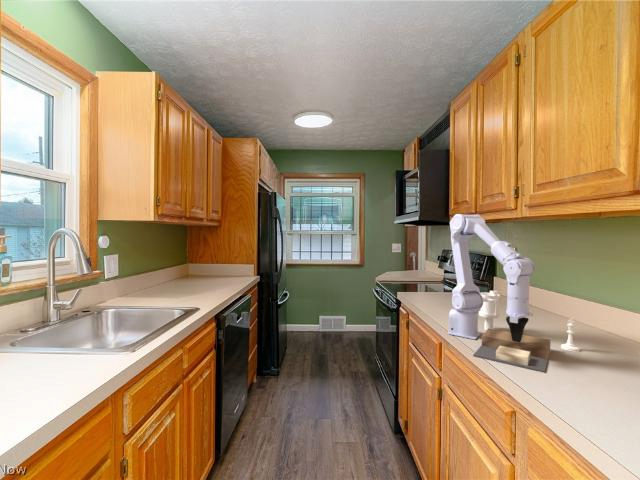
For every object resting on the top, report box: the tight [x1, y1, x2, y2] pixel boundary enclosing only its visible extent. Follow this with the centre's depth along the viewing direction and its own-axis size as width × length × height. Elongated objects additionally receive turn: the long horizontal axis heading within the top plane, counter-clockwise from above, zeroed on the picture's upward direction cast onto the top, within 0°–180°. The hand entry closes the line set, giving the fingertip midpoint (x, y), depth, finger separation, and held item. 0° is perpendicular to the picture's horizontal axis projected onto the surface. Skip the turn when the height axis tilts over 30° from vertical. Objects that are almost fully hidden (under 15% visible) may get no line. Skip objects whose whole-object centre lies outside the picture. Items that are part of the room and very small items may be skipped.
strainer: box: [478, 290, 501, 332], centre depth 125 cm, size 7×7×15 cm
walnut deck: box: [481, 328, 551, 360], centre depth 106 cm, size 18×10×4 cm, turn 52°
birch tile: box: [496, 346, 530, 366], centre depth 96 cm, size 8×6×2 cm
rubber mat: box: [472, 344, 549, 374], centre depth 98 cm, size 18×10×1 cm, turn 52°
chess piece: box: [560, 318, 580, 353], centre depth 106 cm, size 5×5×10 cm
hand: (516, 341), depth 101 cm, fingers closed
